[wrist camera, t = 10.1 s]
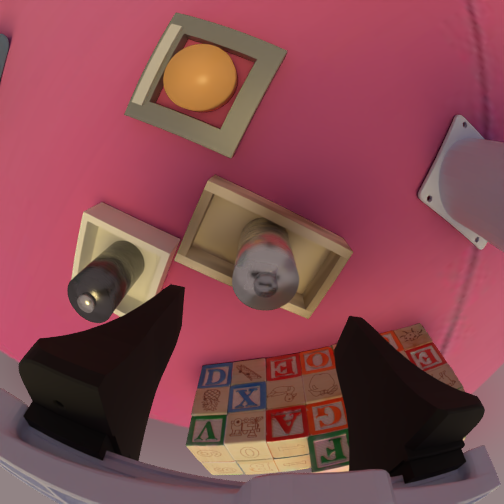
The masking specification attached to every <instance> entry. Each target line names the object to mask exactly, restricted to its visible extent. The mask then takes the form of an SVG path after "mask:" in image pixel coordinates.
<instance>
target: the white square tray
mask: <svg viewBox="0 0 504 504" xmlns="http://www.w3.org/2000/svg"><path fill="white" fill-rule="evenodd" d="M180 240H181V239H179V238H177V237H175V236H173V235H170V234H168V233H166V232H164V231H162V230H160V229H158V228H155V227H153V226H151V225H149V224H147V223H145V222H143V221H141V220H138V219H136V218H134V217H132V216H130V215H128V214H126V213H124V212H122V211H120V210H117V209H115V208H113V207H111V206H109V205H107V204H105V203H103V202H101V203H99V204H97V205H95V206H93V207H92V208H90V209H88V210H86V211H84V212H83V216H82V221H81V226H80V231H79V236H78V241H77V246H76V252H75V258H74V265H73V272H72V279H73V278H74V277H75V276H76V275H77V274H78V273H79V272H80V271H82V270H83V269H84V268H85V267H86V266H87V265H88V264H89V263H91V262H92V261H93V260H94V259H95V258H96V257H97V256H99V255H100V254H101V253H102V252H103V251H104V250H106V249H107V248H108V247H109V246H110V245H111V244H113V243H114V242H116V241H128V242H130V243H132V244H134V245H135V246H136V247H137V248H138V249H139V250H140V252H141V253H142V255H143V258H144V263H145V266H144V271H143V273H142V274H141V276H140V277H139V278H138V280H137V281H136V282H135V284H134V285H133V286H132V287H131V289H130V290H129V291H128V293H127V294H126V295H125V297H124V298H123V300H122V301H121V302H120V304H119V305H118V306H117V308H116V309H115V310H114V312H113V313H115V314H117V315H119V316H123V315H125V314H127V313H129V312H130V311H132V310H134V309H135V308H137V307H139V306H140V305H142V304H143V303H145V302H146V301H148V300H149V299H151V298H152V297H154V296H155V295H157V294H158V293H159V292H161V289H162V286H163V284H164V281H165V278H166V276H167V273H168V270H169V268H170V265H171V262H172V260H173V257H174V255H175V252H176V250H177V247H178V245H179V242H180ZM72 279H71V280H72Z"/></svg>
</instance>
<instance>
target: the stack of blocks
mask: <svg viewBox="0 0 504 504" xmlns="http://www.w3.org/2000/svg"><path fill="white" fill-rule="evenodd" d="M380 335H381V336H382V337H383V338H384V339H386V340H387V341H388V342H389V343H390V344H391V345H392V346H393V347H394V348H395V349H396V350H397V351H399V352H400V353H401V354H402V355H403V356H404V357H406V358H407V359H408V360H409V361H411V362H412V363H413V364H415V365H416V366H417V367H419V368H420V369H422V370H423V371H425V372H426V373H428V374H429V375H431V376H433V377H434V378H436V379H438V380H439V381H441V382H443V383H445V384H447V385H449V386H451V387H454V388H456V389H458V390H461V391H463V392H465V391H464V389H463V386H462V384H461V383H460V381H459V380H458V378H457V376H456V375H455V373H454V371H453V370H452V368H451V367H450V366H449V364H447V362H446V360H445V359H444V357H443V356H442V354H441V353H440V351H439V350H438V348H437V347H436V346H435V344H434V343H433V342H432V339H431V338H430V336H429V335H428V333H427V332H426V330H425V329H424V328H423V326H422V325H421V324H420V323H419V324H415V325H412V326H409V327H405V328H401V329H398V330H394V331H388V332H384V333H380ZM336 345H337V344H334V345H332V346H329V347H324V348H319V349H314V350H309V351H304V352H300V353H295V354H289V355H283V356H278V357H271V358H267V359H265V358H261V359H254V360H246V361H239V362H233V363H231V362H230V363H221V364H213V365H204V366H202V370H201V375H200V379H199V383H198V387H197V391H196V395H195V399H194V404H193V408H192V413H191V415H192V417H191V422H190V427H189V432H188V437H187V442H186V446H187V447H188V449H190V451H191V452H192V453H193V455H194V456H195V457H196V458H197V459H198V461H200V462H201V463H202V464H203V465H204V466H205V468H206V469H207V470H208V471H209V472H210V473H211V474H212V475H239V474H240V475H241V474H247V475H248V474H265V473H275V472H287V471H293V470H301V469H307V468H310V467H311V470H312V473H326V472H345V471H349V435H348V423H347V415H346V409H345V405H344V401H343V397H342V393H341V389H340V385H339V381H338V377H337V372H336V367H335V357H334V349H335V347H336ZM465 438H466V436H465V437H464V438H463V441H464V439H465Z"/></svg>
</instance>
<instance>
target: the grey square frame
mask: <svg viewBox="0 0 504 504" xmlns="http://www.w3.org/2000/svg"><path fill="white" fill-rule="evenodd" d="M188 39H191V40H194V41H197V42H200V43H204V44H209V45H213V46H216V47H218V48H220V49H222V50H224V51H227V52H229V53H232V54H235V55H237V56H240V57H242V58H245V59H247V60H250V61H252V62H255V64H254V66H253V67H252V69H251V71H250V73H249V75H248V77H247V78H246V80H245V82H244V84H243V86H242V88H241V90H240V92H239V93H238V95H237V97H236V99H235V101H234V103H233V105H232V107H231V109H230V111H229V113H228V115H227V117H226V119H225V121H224V123H223V125H222V127H221V129H219V128H217V127H215V126H212V125H210V124H208V123H205V122H203V121H200V120H198V119H196V118H193V117H191V116H188V115H186V114H183V113H181V112H178V111H175V110H173V109H170V108H167V107H165V106H162V105H159V104H157V103H156V101H157V99H158V97H159V94H160V92H161V90H162V88H163V86H164V84H163V77H164V72H165V69H166V66H167V64H168V63H169V61H170V60H171V59H172V57H173V56H174V55H175V54H177V53H178V52H179V51H181V50H182V49H183V47H184V45H185V44H186V42H187V40H188ZM286 54H287V51H286V50H284V49H282V48H280V47H277V46H275V45H273V44H270V43H268V42H266V41H263V40H261V39H258V38H256V37H253V36H250V35H248V34H245V33H242V32H240V31H237V30H234V29H231V28H228V27H225V26H222V25H219V24H216V23H213V22H209V21H206V20H203V19H199V18H195V17H192V16H188V15H184V14H180V13H175V15H174V16H173V18H172V20H171V21H170V23H169V25H168V26H167V28H166V30H165V31H164V33H163V35H162V37H161V38H160V40H159V42H158V44H157V46H156V48H155V49H154V51H153V53H152V55H151V57H150V59H149V61H148V63H147V65H146V67H145V69H144V71H143V73H142V75H141V77H140V79H139V82H138V84H137V86H136V88H135V90H134V93H133V95H132V97H131V100H130V102H129V104H128V107H127V109H126V111H125V114H124V115H127V116H129V117H132V118H135V119H137V120H140V121H143V122H145V123H148V124H151V125H153V126H156V127H158V128H161V129H163V130H166V131H168V132H171V133H173V134H176V135H178V136H181V137H183V138H185V139H188V140H190V141H192V142H195V143H197V144H199V145H202V146H204V147H206V148H209V149H211V150H213V151H215V152H218V153H220V154H222V155H224V156H227V157H229V158H232V157H233V156H234V154H235V151H236V149H237V147H238V145H239V143H240V141H241V139H242V137H243V135H244V133H245V131H246V129H247V127H248V125H249V123H250V121H251V119H252V118H253V116H254V114H255V112H256V110H257V108H258V106H259V104H260V102H261V100H262V98H263V96H264V95H265V93H266V91H267V89H268V87H269V85H270V83H271V82H272V80H273V78H274V76H275V74H276V72H277V71H278V69H279V67H280V65H281V63H282V62H283V60H284V58H285V56H286Z"/></svg>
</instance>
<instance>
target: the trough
mask: <svg viewBox="0 0 504 504" xmlns="http://www.w3.org/2000/svg"><path fill="white" fill-rule="evenodd" d="M261 217H264V218H266V219H268V220H270V221H272V222H274V223H276V224H278V225H280V226H283V227H285V229H286V230H287V232H288V236H289V240H290V243H291V247H292V251H293V255H294V259H295V263H296V267H297V271H298V274H299V286H298V290H297V292H296V294H295V296H294V297H293V298H292V299H291V300H290V301H289V302H288V303H287V304H285V305H284V306H282V307H281V308H283V309H285V310H288V311H290V312H293V313H295V314H297V315H300V316H302V317H305V318H307V319H309V317H310V316H311V315H312V313H313V312H314V310H315V309H316V307H317V306H318V305H319V303H320V302H321V300H322V299H323V297H324V296H325V294H326V293H327V291H328V290H329V289H330V287H331V286H332V284H333V283H334V281H335V280H336V278H337V276H338V275H339V273H340V272H341V270H342V269H343V267H344V266H345V264H346V263H347V261H348V259H349V258H350V256H351V255H352V253H353V251H352V250H351V248H350V247H349V246H348V244H347V243H346V241H345V240H344V239H343V238H342V237H340V236H338V235H336V234H334V233H332V232H330V231H329V230H327V229H325V228H323V227H321V226H319V225H317V224H315V223H313V222H311V221H309V220H307V219H305V218H304V217H302V216H300V215H298V214H296V213H294V212H292V211H290V210H288V209H286V208H284V207H282V206H280V205H278V204H276V203H274V202H272V201H270V200H268V199H266V198H263V197H261V196H259V195H257V194H255V193H253V192H251V191H249V190H247V189H245V188H243V187H240V186H238V185H236V184H234V183H232V182H230V181H228V180H225V179H223V178H221V177H219V176H217V175H214V176H212V177H211V178H210V179H209V180H208V181H207V184H206V186H205V188H204V190H203V193H202V195H201V197H200V199H199V202H198V204H197V206H196V209H195V211H194V213H193V216H192V218H191V220H190V223H189V225H188V228H187V230H186V232H185V235H184V237H183V240H182V242H181V245H180V247H179V250H178V252H177V255H176V257H175V260H174V261H176V262H178V263H181V264H183V265H185V266H187V267H189V268H191V269H194V270H196V271H198V272H200V273H202V274H205V275H207V276H209V277H211V278H214V279H216V280H218V281H220V282H223V283H225V284H227V285H229V286H232V276H233V271H234V266H235V261H236V255H237V250H238V245H239V240H240V235H241V232H242V230H243V228H244V227H245V226H246V224H248V223H249V222H250V221H252V220H254V219H256V218H261ZM232 287H233V286H232Z"/></svg>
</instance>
